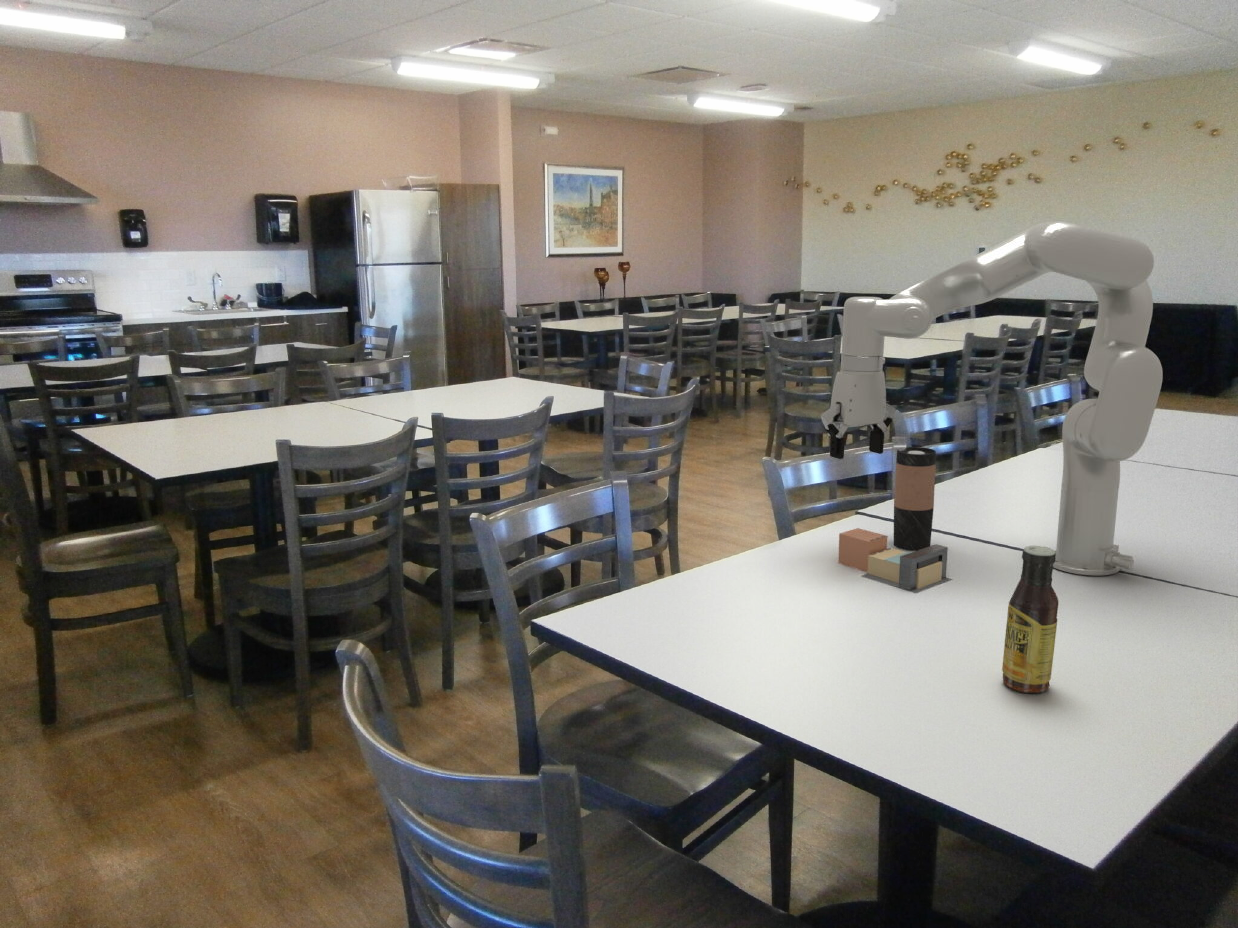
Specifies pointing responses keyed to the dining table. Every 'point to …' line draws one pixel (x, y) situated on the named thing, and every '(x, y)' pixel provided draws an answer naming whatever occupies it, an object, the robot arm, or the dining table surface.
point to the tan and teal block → (889, 564)
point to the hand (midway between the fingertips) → (856, 455)
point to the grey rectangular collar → (920, 564)
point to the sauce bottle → (1031, 624)
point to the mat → (898, 583)
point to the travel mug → (914, 498)
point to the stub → (859, 547)
